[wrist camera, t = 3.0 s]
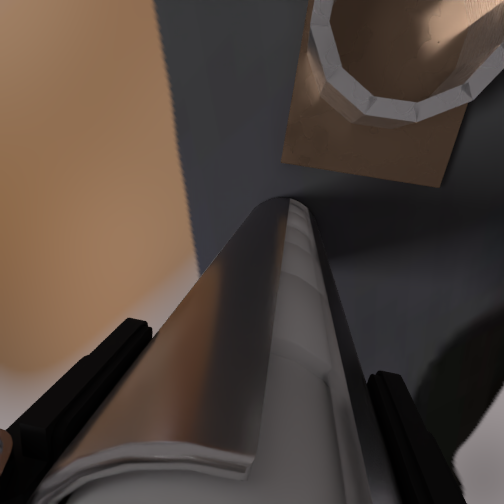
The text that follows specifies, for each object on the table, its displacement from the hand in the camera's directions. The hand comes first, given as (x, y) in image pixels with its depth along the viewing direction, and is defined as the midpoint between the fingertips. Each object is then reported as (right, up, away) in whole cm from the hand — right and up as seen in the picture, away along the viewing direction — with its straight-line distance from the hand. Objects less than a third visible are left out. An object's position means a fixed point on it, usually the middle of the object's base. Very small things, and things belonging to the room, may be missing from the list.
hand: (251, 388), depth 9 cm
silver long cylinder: (+3, +6, +18) cm, 19 cm away
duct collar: (+10, +19, +13) cm, 25 cm away
